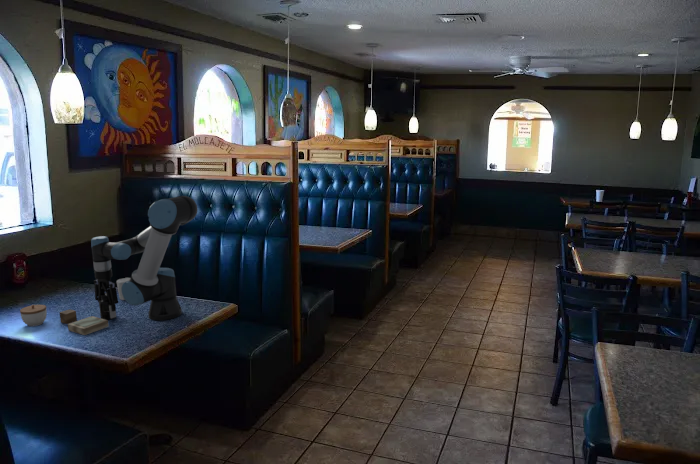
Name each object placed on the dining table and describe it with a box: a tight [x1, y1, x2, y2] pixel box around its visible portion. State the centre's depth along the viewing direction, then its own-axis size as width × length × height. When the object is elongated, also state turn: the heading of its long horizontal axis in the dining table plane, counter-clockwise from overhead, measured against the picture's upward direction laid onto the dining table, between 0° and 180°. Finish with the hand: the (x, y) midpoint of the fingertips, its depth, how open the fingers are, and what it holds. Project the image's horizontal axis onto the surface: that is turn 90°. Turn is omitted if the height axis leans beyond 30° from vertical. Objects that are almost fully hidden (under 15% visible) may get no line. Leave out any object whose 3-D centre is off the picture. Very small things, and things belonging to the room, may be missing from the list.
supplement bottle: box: [98, 292, 116, 321], centre depth 265 cm, size 7×7×12 cm
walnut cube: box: [59, 308, 78, 325], centre depth 263 cm, size 5×5×5 cm
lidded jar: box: [19, 304, 48, 327], centre depth 260 cm, size 11×11×9 cm
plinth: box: [67, 315, 110, 336], centre depth 253 cm, size 12×12×3 cm
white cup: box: [116, 277, 131, 301], centre depth 295 cm, size 8×8×10 cm
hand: (108, 316), depth 266 cm, fingers closed on supplement bottle, 7 cm apart
